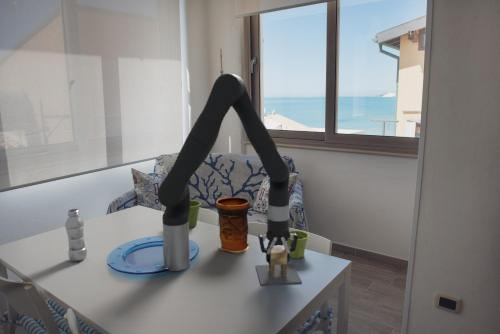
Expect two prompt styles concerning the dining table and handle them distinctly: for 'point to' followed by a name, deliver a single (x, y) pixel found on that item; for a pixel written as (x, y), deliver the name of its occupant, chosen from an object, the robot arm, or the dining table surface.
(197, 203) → the plant pot
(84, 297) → the dining table surface
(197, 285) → the dining table surface
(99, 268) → the dining table surface
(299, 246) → the plant pot
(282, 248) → the notched wooden block
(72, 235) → the plastic bottle
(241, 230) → the vessel
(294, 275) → the mat
